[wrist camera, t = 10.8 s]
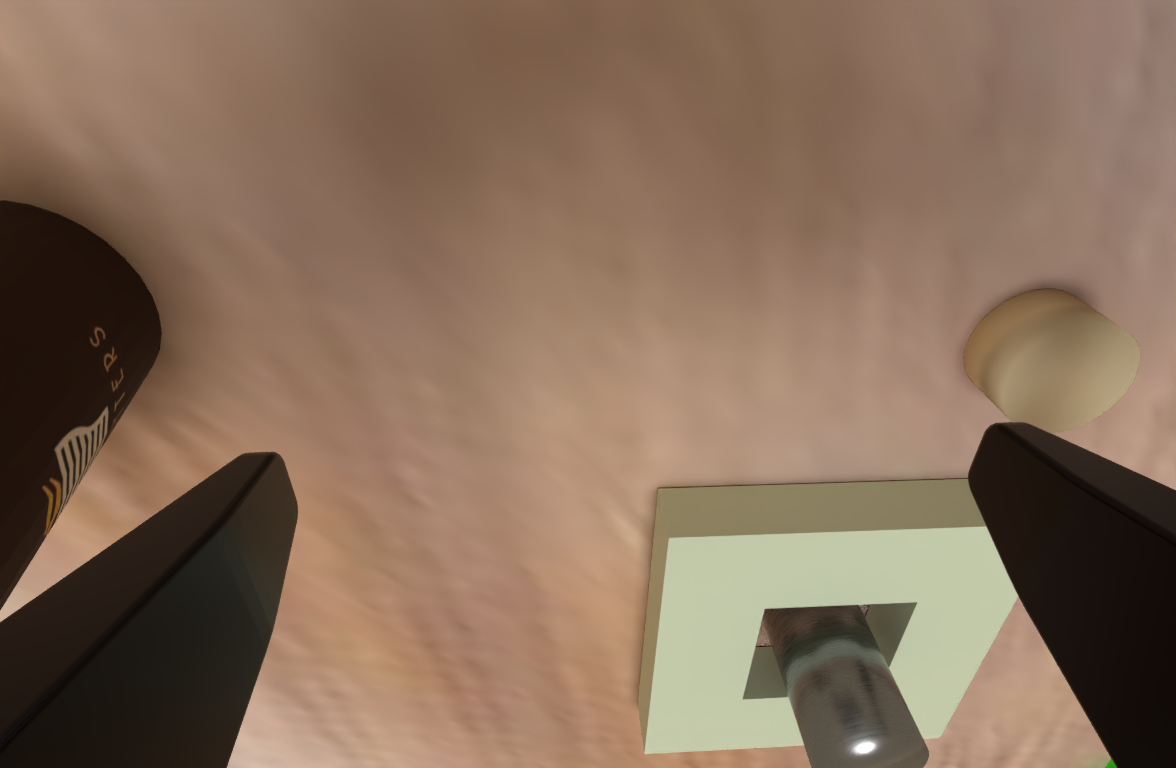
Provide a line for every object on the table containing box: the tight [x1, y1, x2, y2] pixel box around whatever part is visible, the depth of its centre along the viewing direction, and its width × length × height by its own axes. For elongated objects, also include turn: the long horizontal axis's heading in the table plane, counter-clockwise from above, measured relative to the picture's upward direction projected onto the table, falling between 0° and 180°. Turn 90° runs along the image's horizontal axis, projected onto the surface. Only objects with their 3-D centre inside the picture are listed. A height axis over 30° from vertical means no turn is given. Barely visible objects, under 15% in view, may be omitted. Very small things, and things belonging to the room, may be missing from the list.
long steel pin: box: [763, 605, 929, 768], centre depth 26 cm, size 4×4×7 cm
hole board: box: [638, 479, 1018, 754], centre depth 28 cm, size 14×14×2 cm
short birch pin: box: [964, 289, 1140, 433], centre depth 22 cm, size 4×4×2 cm
